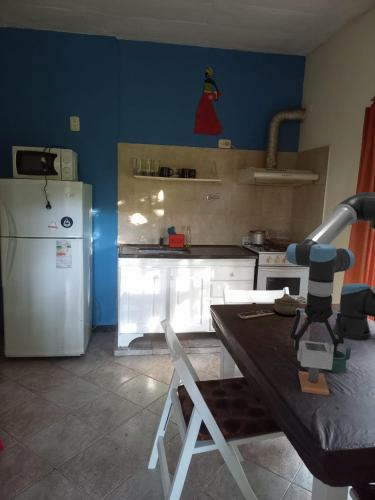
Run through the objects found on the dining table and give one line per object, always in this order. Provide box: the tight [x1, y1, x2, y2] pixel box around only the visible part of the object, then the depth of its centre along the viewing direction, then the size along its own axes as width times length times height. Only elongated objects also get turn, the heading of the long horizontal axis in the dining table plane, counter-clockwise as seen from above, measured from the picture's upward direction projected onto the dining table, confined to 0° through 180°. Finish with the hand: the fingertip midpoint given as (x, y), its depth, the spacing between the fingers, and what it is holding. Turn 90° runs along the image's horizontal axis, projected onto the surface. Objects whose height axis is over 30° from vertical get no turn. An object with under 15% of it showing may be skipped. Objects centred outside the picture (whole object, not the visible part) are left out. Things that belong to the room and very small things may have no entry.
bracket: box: [318, 339, 352, 373], centre depth 127 cm, size 9×9×9 cm
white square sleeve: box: [299, 340, 333, 370], centre depth 114 cm, size 9×9×5 cm
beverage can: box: [293, 312, 311, 348], centre depth 143 cm, size 6×6×15 cm
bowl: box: [273, 293, 301, 316], centre depth 190 cm, size 18×14×10 cm
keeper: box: [298, 367, 330, 396], centre depth 115 cm, size 8×12×10 cm, turn 167°
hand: (314, 360), depth 115 cm, fingers closed on white square sleeve, 9 cm apart
